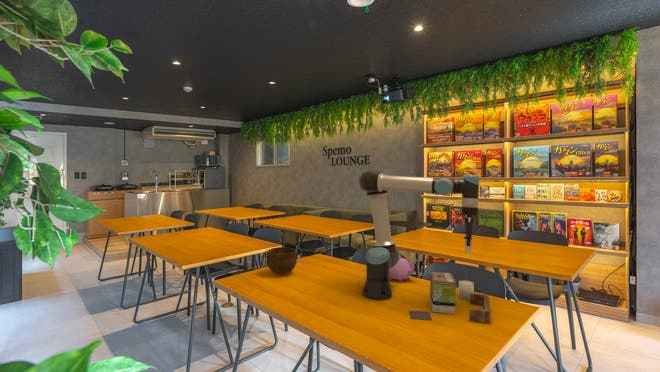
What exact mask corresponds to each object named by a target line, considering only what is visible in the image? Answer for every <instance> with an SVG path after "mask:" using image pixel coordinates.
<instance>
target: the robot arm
mask: <svg viewBox="0 0 660 372" xmlns="http://www.w3.org/2000/svg"><path fill="white" fill-rule="evenodd" d="M358 184H359V188H361V190H363V192H366V197H367V198H368V199H369V200H370V207H371V213H372V222H373V229H374V235H375V240H376V241H375V243H374V244H373V246H374V247H372V248H369V249H368V250H367V251H366V257H365V260H366V262H365V263H366V265H365V266H366V268H365V269H366V272H365V273H366V277H365V278H366V279H365V283H364V285H363V289H362V296H364V297H365V298H366V299H370V300H375V301H376V300H377V301H385V300H389V299H391V298H393V289H392V286H391V282H390V280H389V269H390V268H392V267H394V266H395V265H396V264H397V262H398V260H399V256H400V251H399V250H398V248H397V247H396V246H397V245H396V242H395V241H394V239H392V231H391V224H390V218H389V212H388V211H389V210H388V206H387V198H386V197H387V196H388V194H389V192H388V191H392V192H405V193H407V192H408V193H419V194H420V193H421V194H432V195H433V194H434V195H441V196H448V195H450V194H452V195H453V194H456V195H458V194H459V195H461V207H460V208H461V210H460V211H461V215H464V216H466V217H464V223H465V225H464V226H465V236H463V239H464V253H466V254H467V253H469V254H472V239H473V236H472V235H473V233H474V232H473V227H474V222H475V221H474V218H473V216H477V215H479V208H478V206H479V203H480V202H481V201H480V200H479V196H480V195H479V194H480V193H479V192H480V177H479V175H476V174H475V175H474V174H464V175H462V178H453V177H452V178H450V177H449V178H448V177H444V178H443V177H442V178H441V177H440V178H439V177H424V176H423V177H422V176H406V175H405V176H404V175H403V176H402V175H389V174H388V175H387V174H386V173H384V172H383V171H380V170H365V171H363V172H362V173H361V174H360V176H359V178H358Z"/></svg>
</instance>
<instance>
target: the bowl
mask: <svg viewBox="0 0 660 372" xmlns="http://www.w3.org/2000/svg"><path fill="white" fill-rule="evenodd" d="M297 254H298V250H297V249H295V248H293V247H285V246H281V247H274V248H270V249H269V250H268V249H267V251H266V266H267V267H268V269H269V271H271V273H273V274H275V275H287V274H289V273H291V272H292V271H293V270H294V269H295V267H296V265H297V262H298V261H297V260H298V259H297Z"/></svg>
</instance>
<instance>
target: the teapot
mask: <svg viewBox="0 0 660 372" xmlns="http://www.w3.org/2000/svg"><path fill="white" fill-rule="evenodd" d="M417 261H418V259H414V260H412V261H411V265H410V263H409V262H408V260H407V259H406V258H405V257H402V255H399V260H398V262H397V264H396V265H395V266H394V267H392V268H390V269H389V281H392V279H393V280H397V281H398V283H403V282H404V280H409V278H410V277H411V276H412V274H413V273H414V271H415V268H416V266H415V265H416V262H417Z"/></svg>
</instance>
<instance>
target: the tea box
mask: <svg viewBox="0 0 660 372" xmlns="http://www.w3.org/2000/svg"><path fill="white" fill-rule="evenodd" d="M429 282H430V285H429V288H430V289H429V291H430V292H429V301H430V306H431V309H432V313H440V314H450V315H451V314H453V315H455V314H456V297H457V296H456V295H457V294H456V293H457V281H456V279H455V278H454V276H453V274H452V273H451V272H439V271H431V272H430V281H429Z"/></svg>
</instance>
